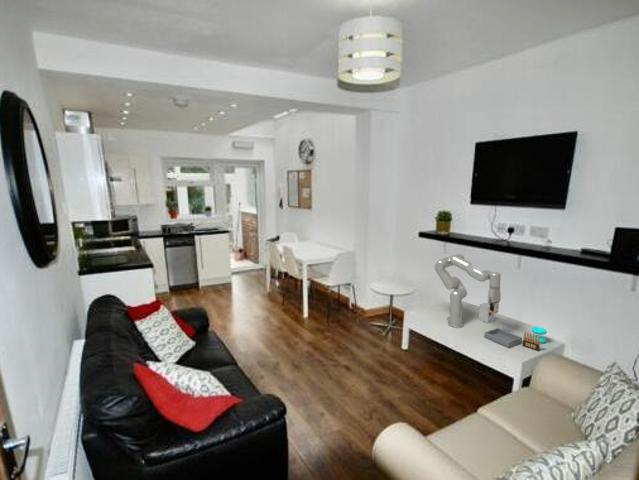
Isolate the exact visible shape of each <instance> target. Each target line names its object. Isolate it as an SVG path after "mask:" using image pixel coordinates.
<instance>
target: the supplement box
mask: <svg viewBox="0 0 639 480" xmlns="http://www.w3.org/2000/svg"><path fill="white" fill-rule="evenodd" d="M478 313H479V314H478V320H479V321H481V322H483V323H486V324H491V323H493V322H495V314H496V313H492V312H490V305H489V304H488V302H484V303H481V304H479V312H478Z"/></svg>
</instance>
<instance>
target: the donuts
mask: <svg viewBox="0 0 639 480" xmlns="http://www.w3.org/2000/svg"><path fill="white" fill-rule="evenodd" d="M530 330H531V333H532V334H534V339H535V335H537V339H538V335H539V337H540V343H539V344H545V343H546V341H547V339H546V338H545V337H544V336H543V335H546V334H547V332H548V331H547V330H546V328H544V327H541V326H532V327H531V329H530ZM531 339H532V335H531Z"/></svg>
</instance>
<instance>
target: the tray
mask: <svg viewBox="0 0 639 480" xmlns="http://www.w3.org/2000/svg"><path fill="white" fill-rule="evenodd" d="M483 336H484V337H483V338H485V339H487V340H489V341H491V342H494V343H496V344H498V345H501V346H502V347H505V348H506V349H510V348H512V347H516V346H519V345H520V344H523V337H522V336H519V335H517V334H514V333H512V332H510V331H506V330H505V329H502V328H499V327H496V328H493V329H490V330H488V331H484V335H483Z"/></svg>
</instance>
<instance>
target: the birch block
mask: <svg viewBox="0 0 639 480" xmlns="http://www.w3.org/2000/svg"><path fill="white" fill-rule="evenodd" d="M499 305H500V302H494V311H491V310H490V312H492V313H495V314H497V313H499V307H500V306H499Z"/></svg>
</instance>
